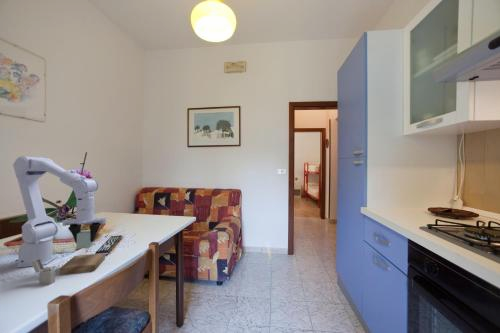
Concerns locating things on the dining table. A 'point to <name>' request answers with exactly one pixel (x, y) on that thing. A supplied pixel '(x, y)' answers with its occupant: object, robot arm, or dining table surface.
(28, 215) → the robot arm
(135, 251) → the dining table surface
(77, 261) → the walnut base
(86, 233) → the teal block
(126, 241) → the dining table surface
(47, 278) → the lighter
